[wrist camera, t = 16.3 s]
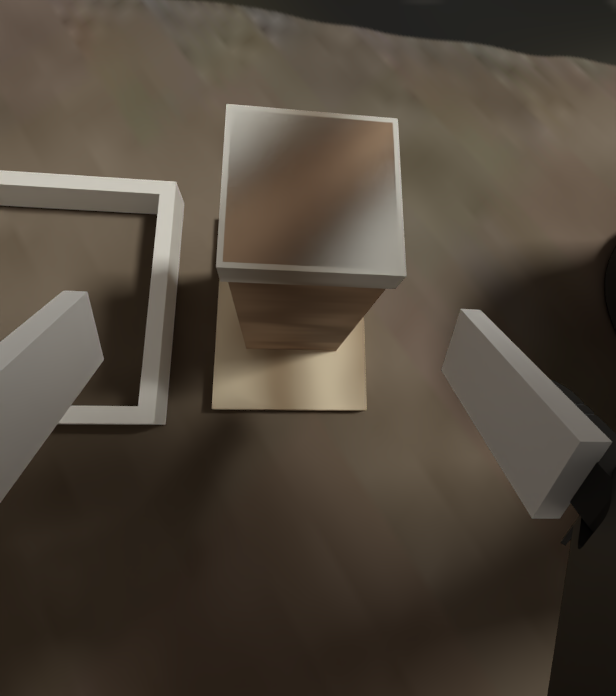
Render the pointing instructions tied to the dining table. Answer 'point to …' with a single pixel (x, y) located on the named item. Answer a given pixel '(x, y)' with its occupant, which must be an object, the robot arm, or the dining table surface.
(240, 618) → the dining table surface
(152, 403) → the white rectangular frame
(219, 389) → the board
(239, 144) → the canister
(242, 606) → the dining table surface
